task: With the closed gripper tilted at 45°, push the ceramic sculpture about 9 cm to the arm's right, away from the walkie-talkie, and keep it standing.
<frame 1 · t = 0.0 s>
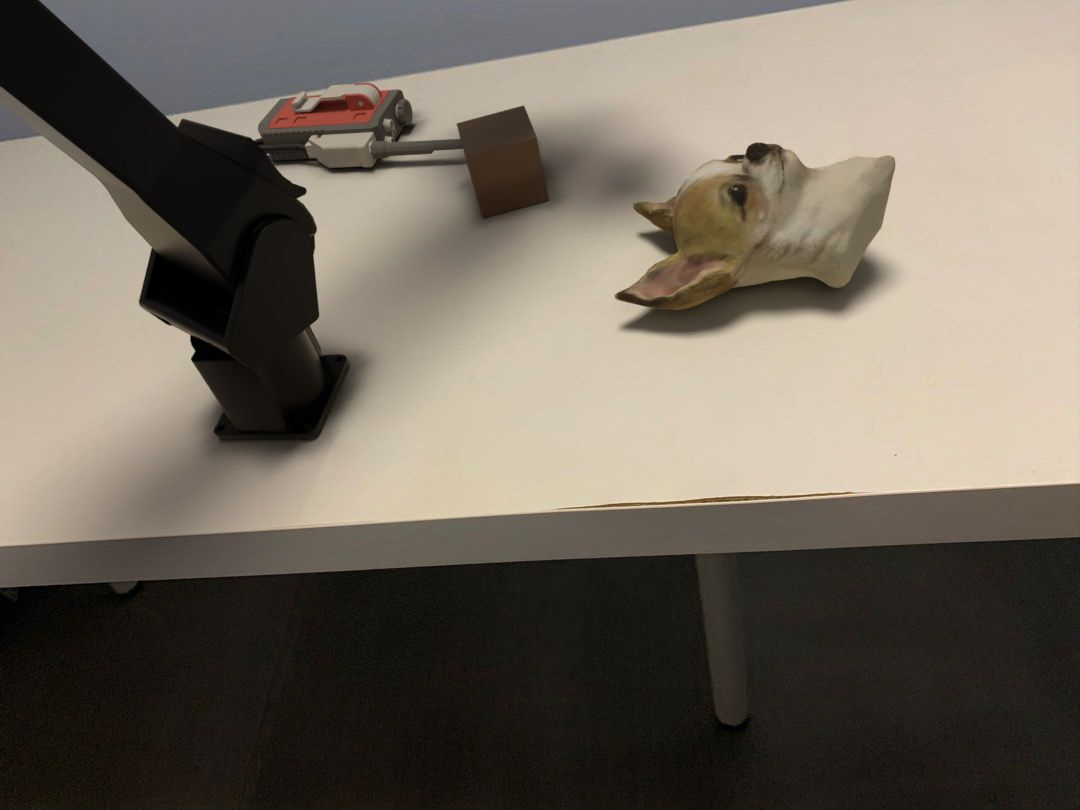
walnut block: (510, 192, 62), on the table
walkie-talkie: (370, 146, 72), on the table
ceramic sculpture: (750, 276, 51), on the table
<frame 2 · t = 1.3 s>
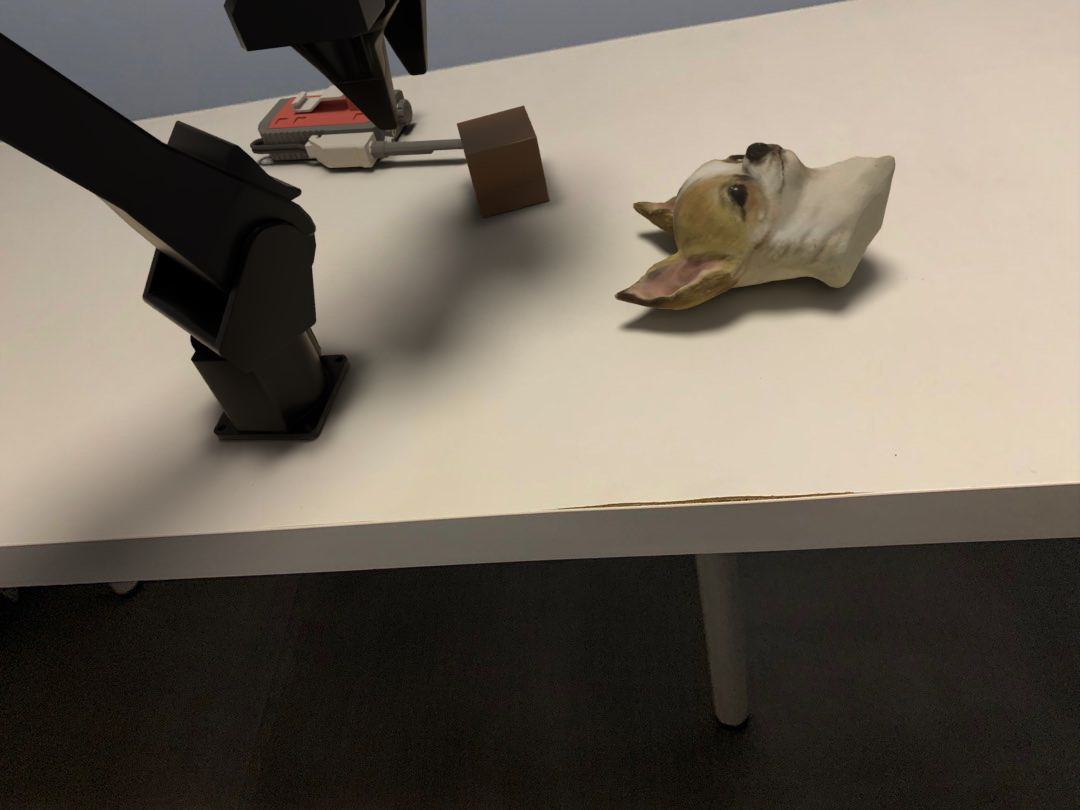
hand: (405, 100, 48), 12 cm above the table, tool pointing down, fingers open, 6 cm apart
nothing on the table moved.
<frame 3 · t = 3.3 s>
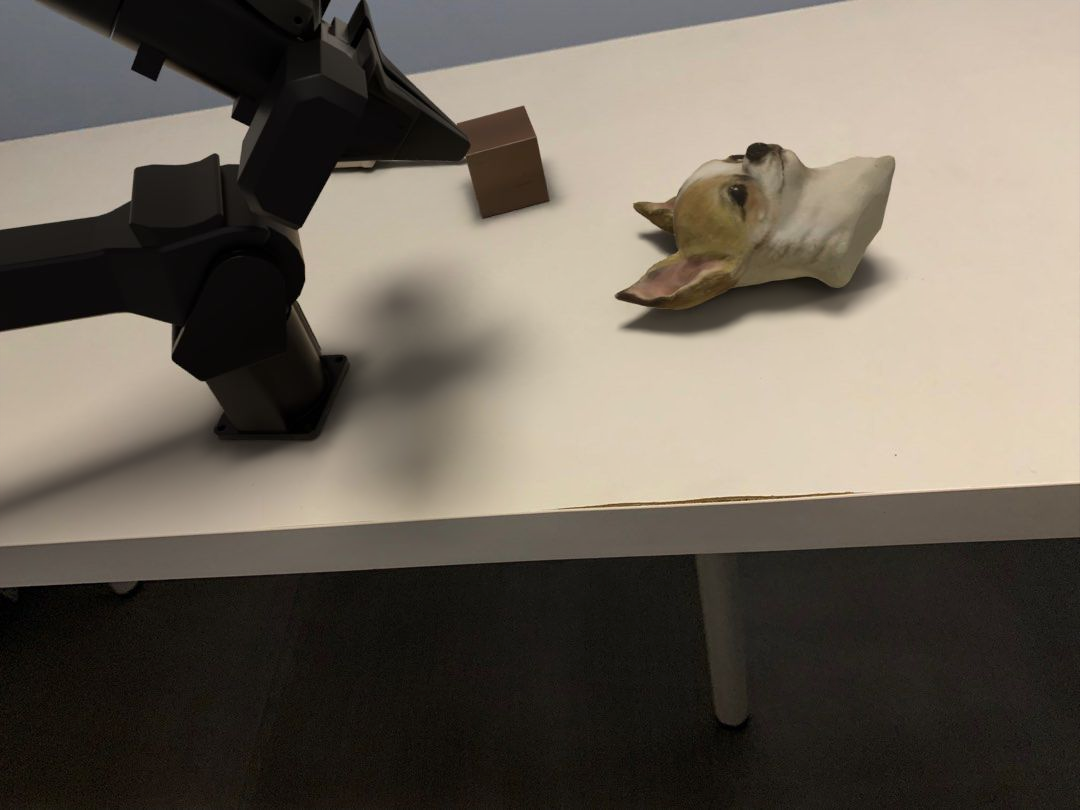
hand: (465, 150, 42), 12 cm above the table, tool tilted 45°, fingers closed
nothing on the table moved.
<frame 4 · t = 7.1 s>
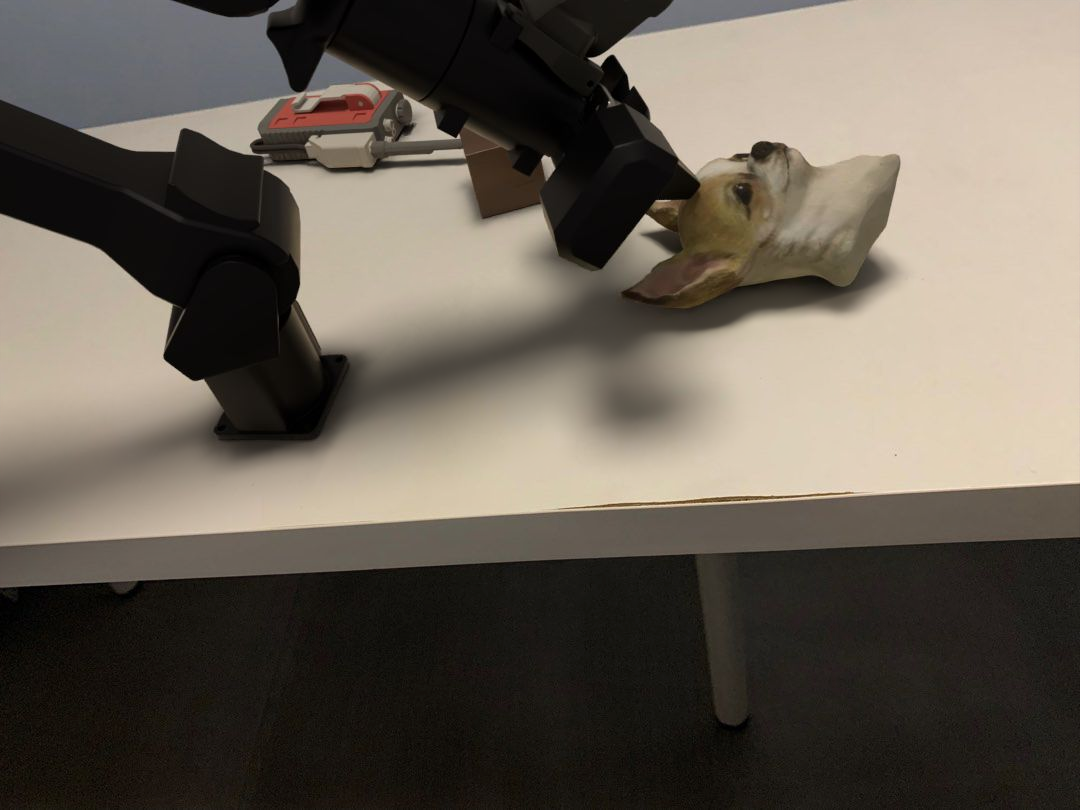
hand: (693, 189, 46), 7 cm above the table, tool tilted 45°, fingers closed
ceramic sculpture: (754, 275, 51), on the table, touching gripper
everything else where it was.
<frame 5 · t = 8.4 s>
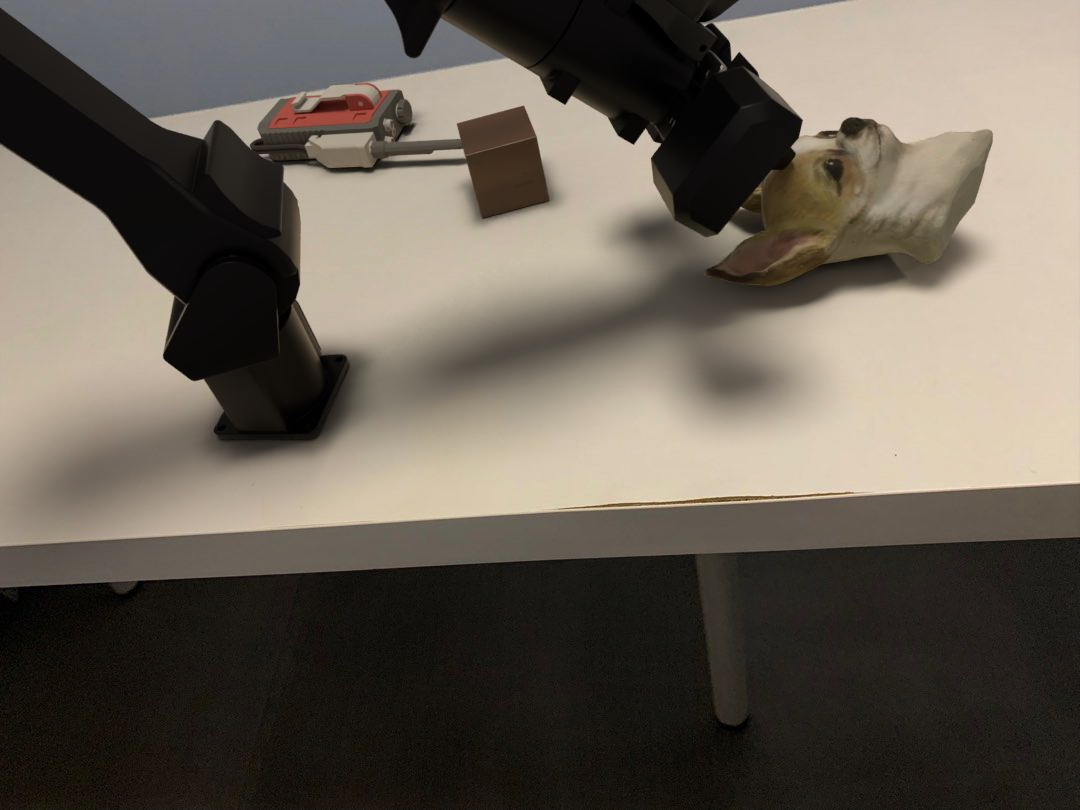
hand: (787, 159, 46), 7 cm above the table, tool tilted 45°, fingers closed
ceramic sculpture: (834, 253, 51), on the table, touching gripper
everything else where it was.
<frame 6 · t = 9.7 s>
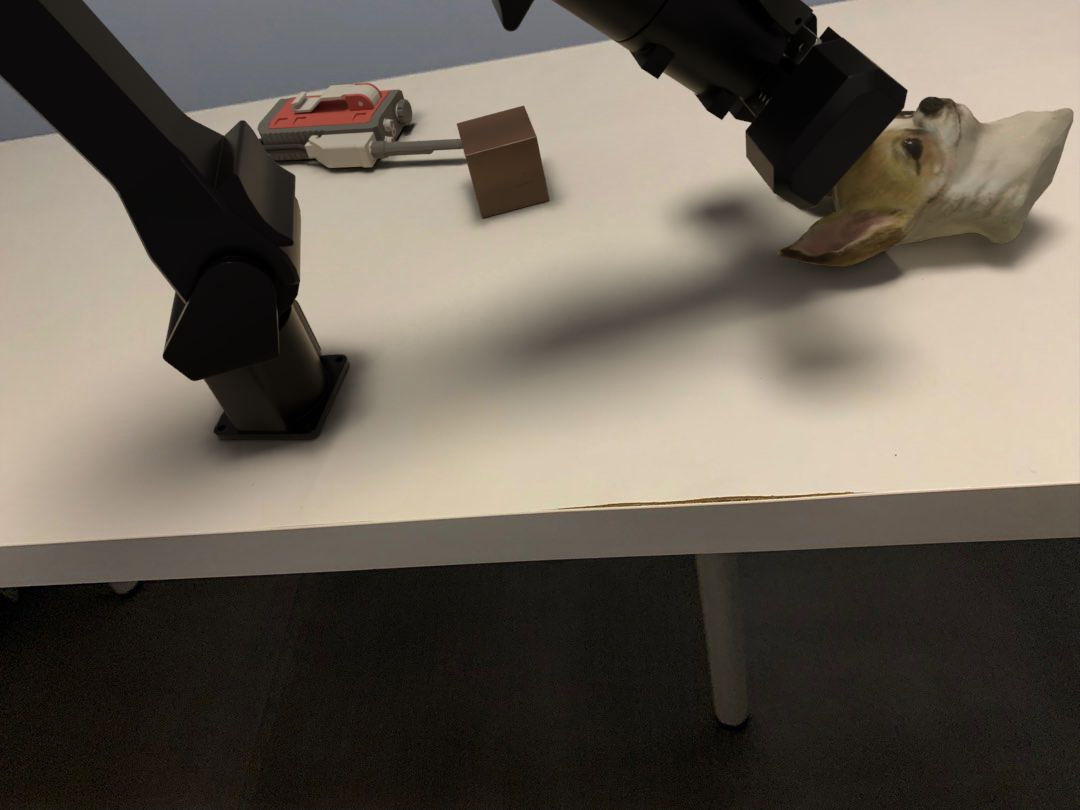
hand: (867, 136, 46), 7 cm above the table, tool tilted 45°, fingers closed
ceramic sculpture: (904, 235, 51), on the table, touching gripper
everything else where it was.
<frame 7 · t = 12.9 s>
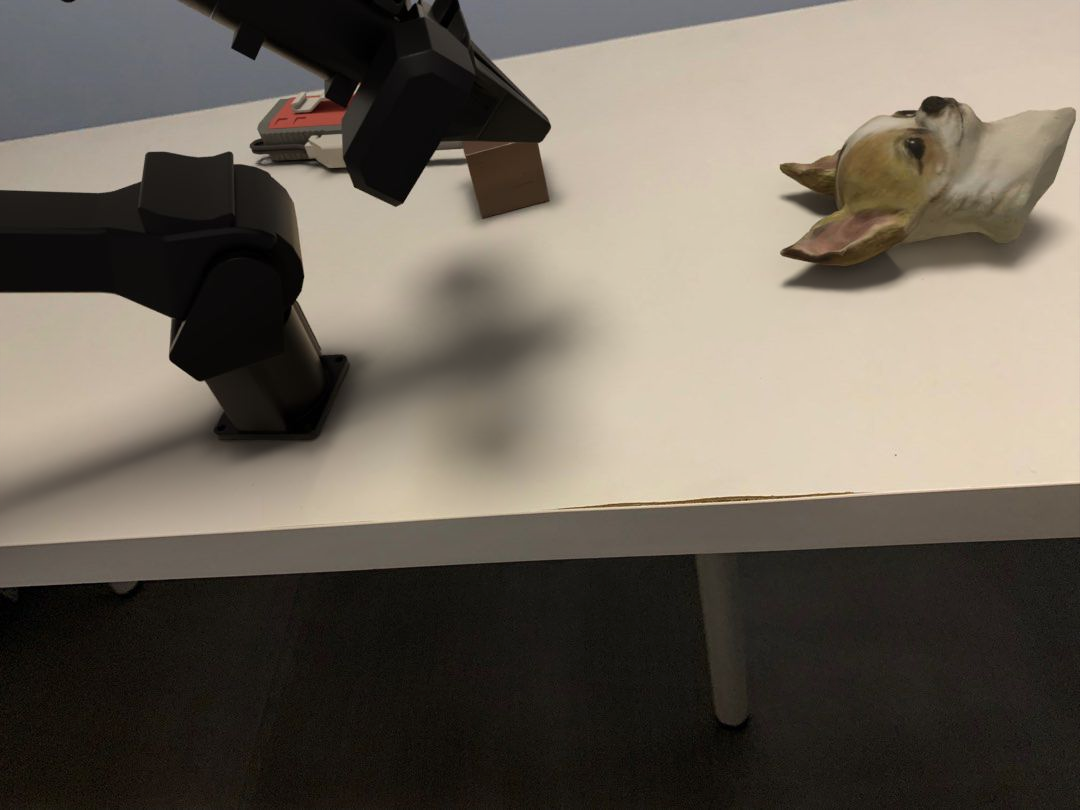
hand: (545, 131, 42), 12 cm above the table, tool tilted 45°, fingers closed
ceramic sculpture: (906, 234, 51), on the table
everything else where it was.
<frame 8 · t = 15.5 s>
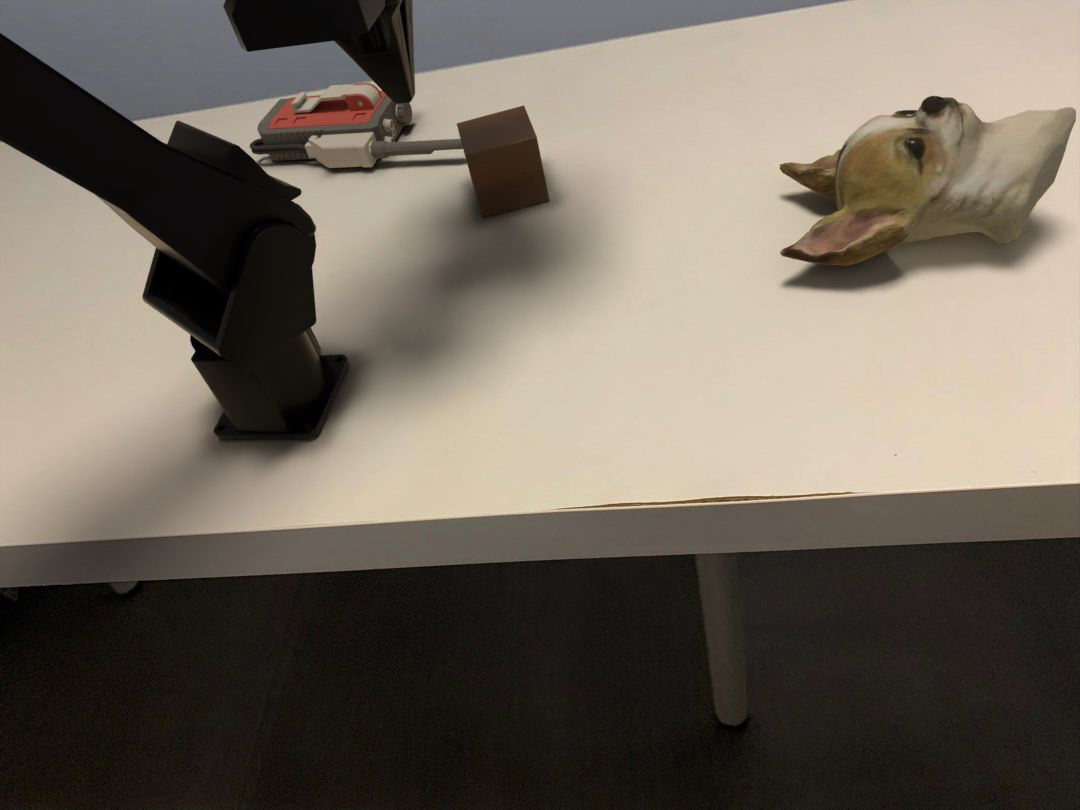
hand: (405, 100, 48), 12 cm above the table, tool pointing down, fingers closed
nothing on the table moved.
at the end: ceramic sculpture moved 9.7 cm from its start; ceramic sculpture tilted 0° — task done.
